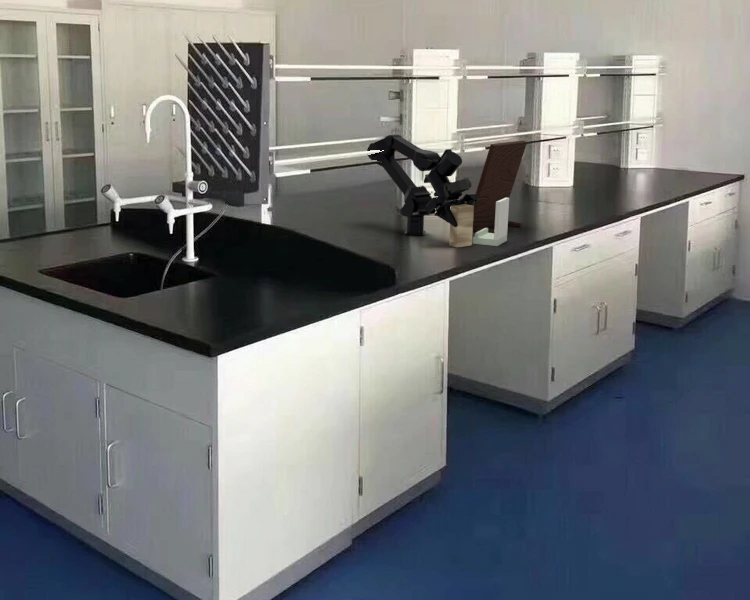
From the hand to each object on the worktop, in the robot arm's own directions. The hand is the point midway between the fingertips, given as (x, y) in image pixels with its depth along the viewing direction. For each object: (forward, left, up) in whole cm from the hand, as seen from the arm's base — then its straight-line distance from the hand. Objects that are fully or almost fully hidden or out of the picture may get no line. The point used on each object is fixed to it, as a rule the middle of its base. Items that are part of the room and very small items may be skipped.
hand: (464, 225), depth 282 cm
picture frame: (-32, +9, -7) cm, 34 cm away
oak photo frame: (-1, -1, -7) cm, 7 cm away
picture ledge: (-8, +7, -7) cm, 13 cm away
